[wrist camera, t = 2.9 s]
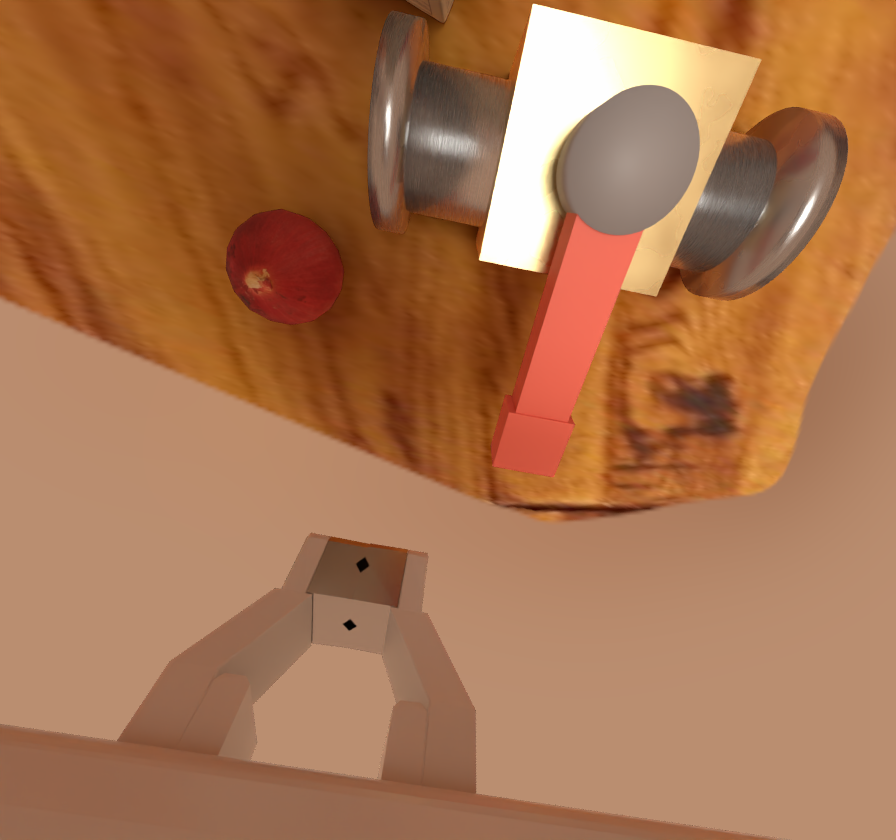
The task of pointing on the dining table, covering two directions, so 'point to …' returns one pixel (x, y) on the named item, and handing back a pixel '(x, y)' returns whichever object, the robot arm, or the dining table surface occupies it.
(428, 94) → the valve body
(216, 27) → the dining table surface
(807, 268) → the dining table surface
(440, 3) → the skincare box
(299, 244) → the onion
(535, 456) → the lever
